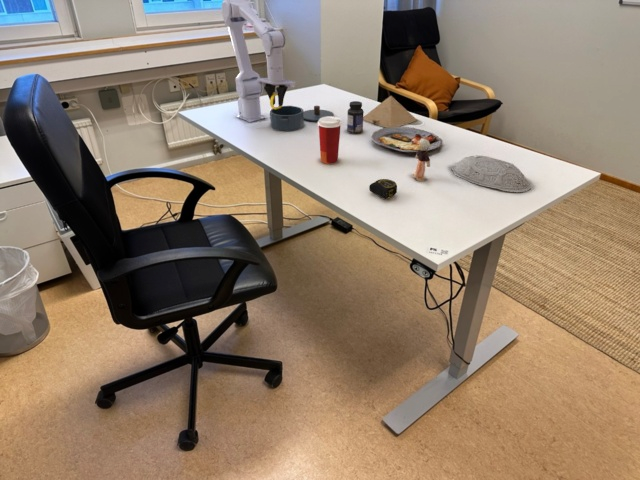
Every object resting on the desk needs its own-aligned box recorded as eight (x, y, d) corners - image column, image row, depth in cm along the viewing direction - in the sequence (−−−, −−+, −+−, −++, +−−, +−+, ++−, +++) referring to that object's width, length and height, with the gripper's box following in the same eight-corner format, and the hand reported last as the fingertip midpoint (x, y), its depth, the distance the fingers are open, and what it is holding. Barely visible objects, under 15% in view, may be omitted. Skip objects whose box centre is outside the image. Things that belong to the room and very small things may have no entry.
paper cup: (343, 157, 151) (344, 117, 144) (336, 166, 145) (337, 124, 138) (321, 155, 153) (321, 114, 146) (314, 163, 147) (313, 121, 140)
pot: (267, 133, 171) (266, 117, 168) (274, 118, 187) (273, 103, 184) (301, 133, 171) (301, 118, 168) (305, 118, 186) (304, 104, 183)
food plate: (453, 144, 162) (454, 134, 160) (418, 163, 148) (419, 153, 146) (396, 128, 176) (397, 119, 174) (359, 144, 162) (359, 134, 160)
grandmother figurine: (406, 175, 140) (411, 136, 133) (416, 172, 141) (421, 134, 134) (422, 184, 134) (428, 144, 127) (432, 182, 136) (438, 142, 129)
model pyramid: (359, 119, 185) (360, 95, 179) (386, 111, 194) (388, 87, 189) (390, 130, 174) (392, 104, 169) (417, 120, 184) (420, 95, 179)
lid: (298, 122, 182) (298, 111, 180) (301, 111, 194) (301, 101, 192) (333, 122, 182) (333, 111, 179) (333, 112, 194) (334, 101, 191)
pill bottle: (362, 129, 175) (364, 100, 169) (362, 134, 170) (364, 105, 164) (347, 128, 176) (348, 100, 170) (346, 133, 171) (347, 105, 165)
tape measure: (367, 193, 129) (368, 181, 127) (385, 187, 132) (386, 176, 130) (383, 202, 125) (384, 190, 123) (401, 196, 128) (402, 184, 126)
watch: (274, 111, 167) (273, 95, 164) (269, 110, 168) (267, 93, 165) (285, 107, 171) (284, 91, 168) (279, 106, 172) (278, 90, 169)
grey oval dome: (517, 196, 126) (523, 173, 123) (440, 174, 142) (444, 153, 139) (539, 185, 136) (545, 163, 133) (465, 165, 152) (469, 145, 149)
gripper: (297, 66, 162) (298, 104, 170) (262, 63, 167) (264, 100, 174) (290, 70, 157) (291, 109, 164) (253, 67, 161) (256, 105, 169)
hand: (277, 105), depth 169 cm, fingers closed on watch, 2 cm apart
